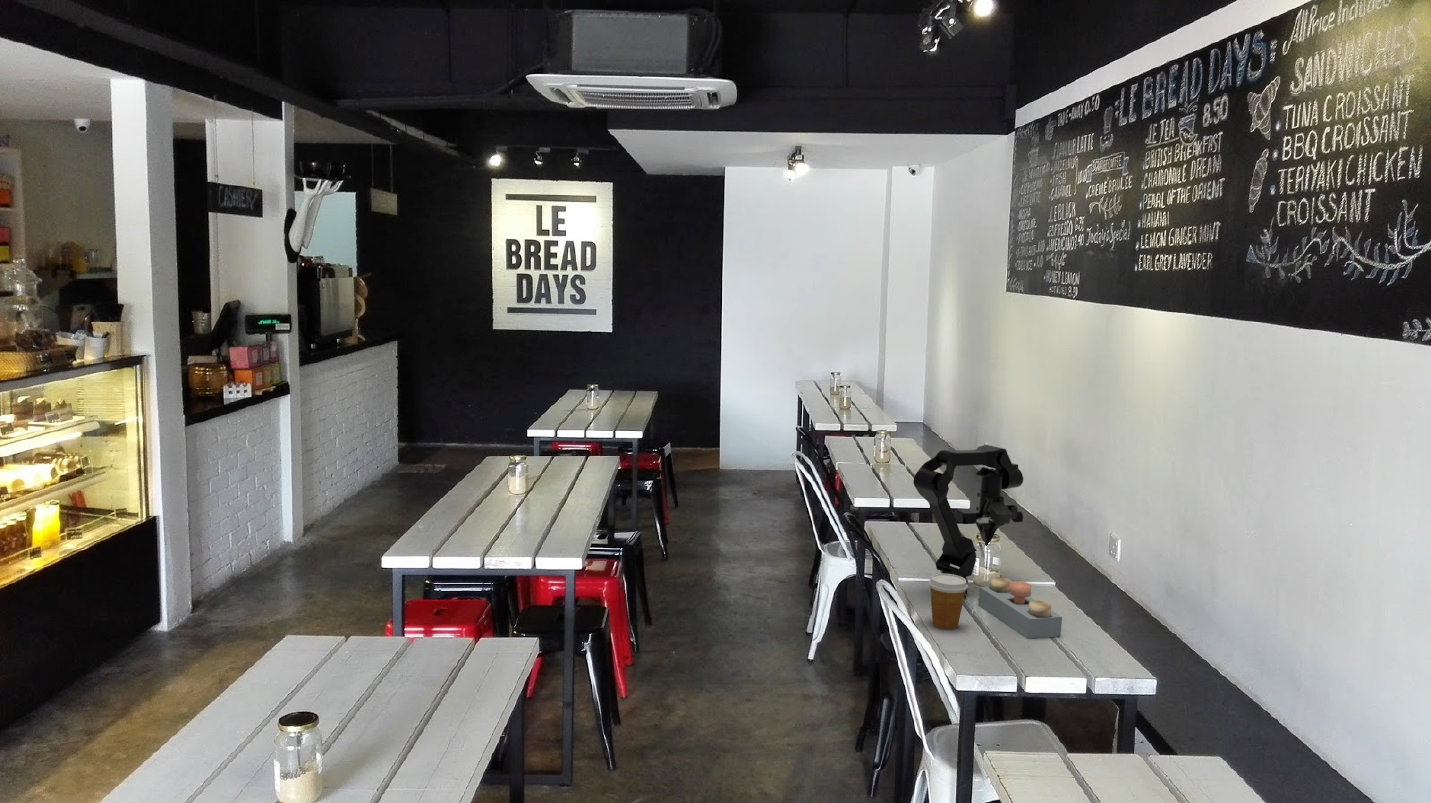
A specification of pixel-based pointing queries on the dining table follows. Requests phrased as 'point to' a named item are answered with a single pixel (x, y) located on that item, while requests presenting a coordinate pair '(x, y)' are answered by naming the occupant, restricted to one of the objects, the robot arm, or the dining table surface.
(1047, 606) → the knob
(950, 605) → the disposable coffee cup
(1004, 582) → the knob
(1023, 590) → the knob middle
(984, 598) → the grey peg holder block
